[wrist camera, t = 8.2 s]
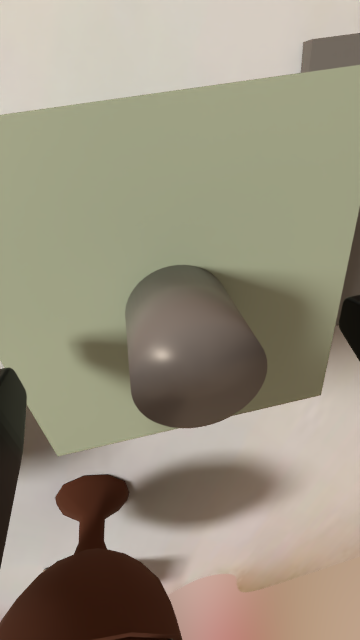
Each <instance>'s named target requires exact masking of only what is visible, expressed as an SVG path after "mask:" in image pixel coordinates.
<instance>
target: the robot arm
mask: <svg viewBox="0 0 360 640" xmlns="http://www.w3.org/2000/svg"><path fill="white" fill-rule="evenodd" d="M339 328H340V330H341V332H342V334H343V335H344V337H345V338H346V340H347V342H348V343H349V345H350V346H351V348H352V350H353V351H354V353H355V354H356V356H357V358H358V359H359V361H360V295H356V296H351V297H347V298H345V299H344V301H343V304H342V309H341V314H340V318H339ZM26 404H27V394H26V390H25V388H24V386H23V384H22V383H21V381H20V379H19V377H18V376H17V374H16V372H15V371H14V370H13V369H12V368H9V367H8V368H3V369H0V567H1V562H2V557H3V552H4V547H5V542H6V537H7V531H8V526H9V521H10V516H11V511H12V506H13V501H14V495H15V490H16V485H17V480H18V475H19V470H20V465H21V459H22V453H23V444H24V431H25V417H26Z"/></svg>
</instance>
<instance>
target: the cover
mask: <svg viewBox="0 0 360 640" xmlns="http://www.w3.org/2000/svg"><path fill="white" fill-rule="evenodd" d="M359 208H360V65H355V66H348V67H340V68H333V69H326V70H319V71H312V72H305V73H298V74H290V75H283V76H276V77H269V78H262V79H255V80H247V81H240V82H233V83H226V84H219V85H212V86H205V87H197V88H190V89H183V90H176V91H169V92H162V93H154V94H147V95H140V96H133V97H126V98H119V99H111V100H104V101H97V102H90V103H83V104H76V105H69V106H61V107H54V108H47V109H40V110H33V111H26V112H18V113H11V114H4V115H0V361H1V362H2V364H3V366H4V367H5V368H8V367H9V368H12V369H13V370H14V371H15V372H16V374H17V376H18V377H19V379H20V381H21V383H22V384H23V386H24V388H25V390H26V394H27V406H28V408H29V409H30V411H31V413H32V414H33V416H34V418H35V419H36V421H37V423H38V424H39V426H40V428H41V429H42V431H43V433H44V434H45V436H46V438H47V439H48V441H49V443H50V444H51V446H52V448H53V449H54V451H55V453H56V454H57V456H62V455H66V454H70V453H75V452H79V451H83V450H88V449H92V448H96V447H100V446H105V445H109V444H113V443H118V442H122V441H126V440H130V439H135V438H139V437H143V436H148V435H152V434H156V433H160V432H165V431H169V430H173V429H178V428H195V427H202V426H207V425H210V424H214V423H217V422H219V421H222V420H224V419H226V418H228V417H230V416H233V415H238V414H242V413H246V412H251V411H255V410H259V409H263V408H268V407H272V406H276V405H281V404H285V403H289V402H293V401H298V400H302V399H306V398H311V397H315V396H319V395H321V392H322V387H323V382H324V377H325V372H326V368H327V363H328V358H329V353H330V348H331V343H332V338H333V334H334V329H335V324H336V319H337V314H338V309H339V305H340V300H341V295H342V290H343V285H344V280H345V276H346V271H347V266H348V261H349V256H350V251H351V246H352V242H353V237H354V232H355V227H356V222H357V217H358V213H359Z"/></svg>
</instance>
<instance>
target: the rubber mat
mask: <svg viewBox="0 0 360 640" xmlns="http://www.w3.org/2000/svg"><path fill="white" fill-rule="evenodd" d="M355 65H360V33H357V34H349V35H342V36H334V37H326V38H319V39H312V40H309V41H306V42H303V54H302V67H301V73H305V72H312V71H319V70H326V69H333V68H340V67H348V66H355ZM356 295H360V208H359V213H358V217H357V222H356V227H355V232H354V237H353V242H352V246H351V251H350V256H349V261H348V266H347V271H346V276H345V280H344V285H343V290H342V295H341V300H340V305H339V309H338V314H337V319H336V324H335V326H336V325H339V318H340V314H341V309H342V304H343V301H344V299H345V298H347V297H351V296H356Z"/></svg>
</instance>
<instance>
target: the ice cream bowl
mask: <svg viewBox="0 0 360 640" xmlns="http://www.w3.org/2000/svg"><path fill="white" fill-rule="evenodd" d="M128 495H129V491H128V488H127V485H126V483H125V481H123V480H120V479H118V478H115V477H113V476H110V475H90V476H82V477H80V478H78V479H75V480H73V481H71V482H69V483H66V484H64V485H63V486H62V488H61V489H60V491H59V492H58V494H57V496H56V497H55V498H56V503H57V506H58V507H59V509H60V510H61V512H62V514H63V515H65V516H67V517H70V518H72V519H74V520H77V521H79V522H80V525H79V544H78V546H77V548H76V551H75V553H74V555H72V556H69V557H67V558H65V559H62V560H60V561H57V562H56V563H55V564H53V565H52V566H50V567H49V568H48V569H46V570H45V571H44V572H42V573H41V574H40V575H39V576H38V577H37V578H36V579H35V580H34V581H33V582H32V583H31V584H30V585H29V586H28V587H27V589H26V590H25V591H24V592H23V593H22V594H21V595H20V596H19V597H18V598H17V599H16V601H15V602H14V604H13V605H12V606H11V608H10V609H9V611H8V612H7V613H6V615H5V616H4V618H3V619H2V620H1V622H0V640H182V637H181V633H180V630H179V626H178V623H177V619H176V616H175V613H174V610H173V607H172V604H171V602H170V600H169V598H168V596H167V594H166V592H165V590H164V588H163V586H162V584H161V582H160V580H159V578H158V577H156V576H155V575H154V574H153V573H152V572H151V571H150V570H149V569H148V568H147V567H146V566H145V565H144V564H142V563H141V562H140V561H138V560H136V559H134V558H132V557H130V556H128V555H126V554H124V553H120V552H116V551H111V550H107V548H106V545H105V542H104V524H105V519H106V518H107V517H109V516H110V515H112V514H114V513H115V512H117V511H119V509H120V508H121V507H122V506H123V504H124V503H125V502H126V501H127V499H128Z"/></svg>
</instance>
